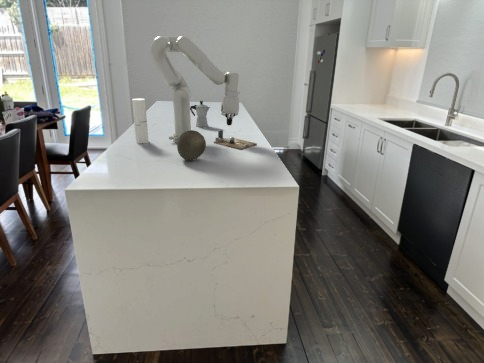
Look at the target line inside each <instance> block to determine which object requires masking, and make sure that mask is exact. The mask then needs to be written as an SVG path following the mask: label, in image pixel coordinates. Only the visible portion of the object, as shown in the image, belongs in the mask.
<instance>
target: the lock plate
mask: <svg viewBox="0 0 484 363" xmlns="http://www.w3.org/2000/svg"><path fill="white" fill-rule="evenodd" d="M231 137H232V136H229V137H226V139H230V138H231ZM213 144H216V145H220V146H224V147H228V148H231V149H236V150H240V151H242V150H244V149H248V148H251V147H254V146H257V145H258V143H257V142H251V141H247V140H243V139H239V138H235V137H234V143H229V142H224V141H221V138H218V137H217V136H216V137H215V140H214V141H213Z"/></svg>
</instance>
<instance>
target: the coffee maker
mask: <svg viewBox="0 0 484 363" xmlns="http://www.w3.org/2000/svg"><path fill="white" fill-rule="evenodd" d="M203 103H204V101H203V100H200V101H199V104H194V105H190V113H191V114H192V116H193V117H195V116H196V124H195V126H196V128H201V129H202V128H207V127H208V126H209V125H208V118H207V115H208V111H209V110H210V109H211V106H208V105H206V104H203ZM194 110H195V111H196V114H195V112H194Z"/></svg>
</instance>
